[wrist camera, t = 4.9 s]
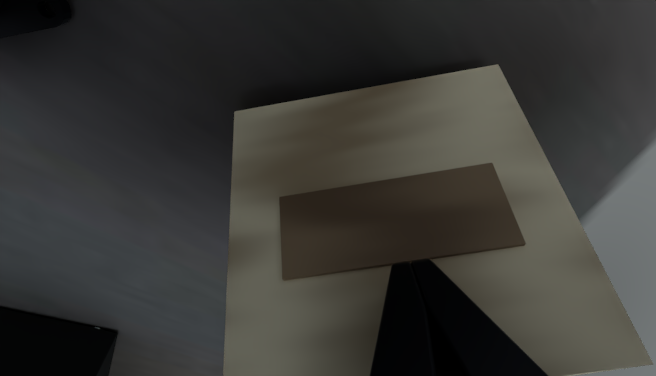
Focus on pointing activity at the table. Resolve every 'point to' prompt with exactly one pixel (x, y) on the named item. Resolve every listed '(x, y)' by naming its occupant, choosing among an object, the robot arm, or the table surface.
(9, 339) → the tissue box
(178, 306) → the table surface
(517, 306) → the birch domino
